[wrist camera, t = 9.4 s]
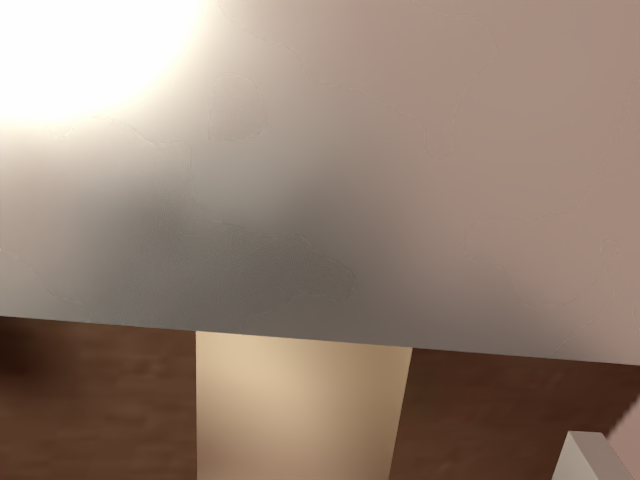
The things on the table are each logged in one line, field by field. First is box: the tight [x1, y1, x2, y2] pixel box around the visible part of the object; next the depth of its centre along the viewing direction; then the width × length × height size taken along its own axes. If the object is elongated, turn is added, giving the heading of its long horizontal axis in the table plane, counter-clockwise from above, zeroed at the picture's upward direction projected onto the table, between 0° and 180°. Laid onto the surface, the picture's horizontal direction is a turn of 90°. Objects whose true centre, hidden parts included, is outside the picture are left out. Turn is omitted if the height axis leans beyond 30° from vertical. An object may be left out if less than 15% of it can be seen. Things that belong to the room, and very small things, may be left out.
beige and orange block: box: [196, 331, 412, 480], centre depth 14 cm, size 5×23×11 cm, turn 175°
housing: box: [0, 0, 640, 365], centre depth 12 cm, size 13×5×16 cm, turn 85°
